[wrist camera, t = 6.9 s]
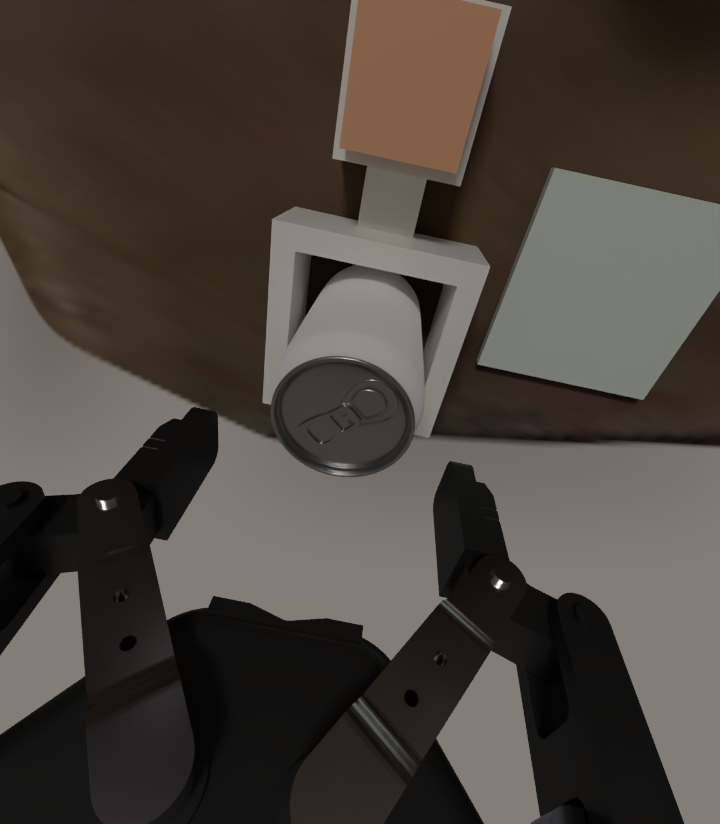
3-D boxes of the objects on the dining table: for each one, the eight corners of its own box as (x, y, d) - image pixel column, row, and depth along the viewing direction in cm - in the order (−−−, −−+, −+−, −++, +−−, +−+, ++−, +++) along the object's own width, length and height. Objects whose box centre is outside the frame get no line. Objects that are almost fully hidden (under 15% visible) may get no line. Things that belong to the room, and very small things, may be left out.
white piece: (546, 37, 18) (583, 8, 14) (426, 399, 28) (429, 438, 25) (313, -16, 17) (286, -60, 14) (282, 368, 28) (262, 402, 24)
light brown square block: (483, 38, 18) (502, 9, 14) (448, 168, 20) (456, 173, 17) (371, 12, 18) (361, -23, 14) (352, 147, 20) (339, 148, 17)
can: (440, 327, 25) (458, 445, 15) (358, 376, 28) (329, 504, 18) (381, 237, 23) (359, 309, 13) (297, 301, 25) (224, 401, 15)
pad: (762, 214, 20) (771, 216, 20) (638, 395, 26) (643, 399, 26) (551, 167, 20) (555, 167, 20) (476, 360, 26) (477, 364, 26)
